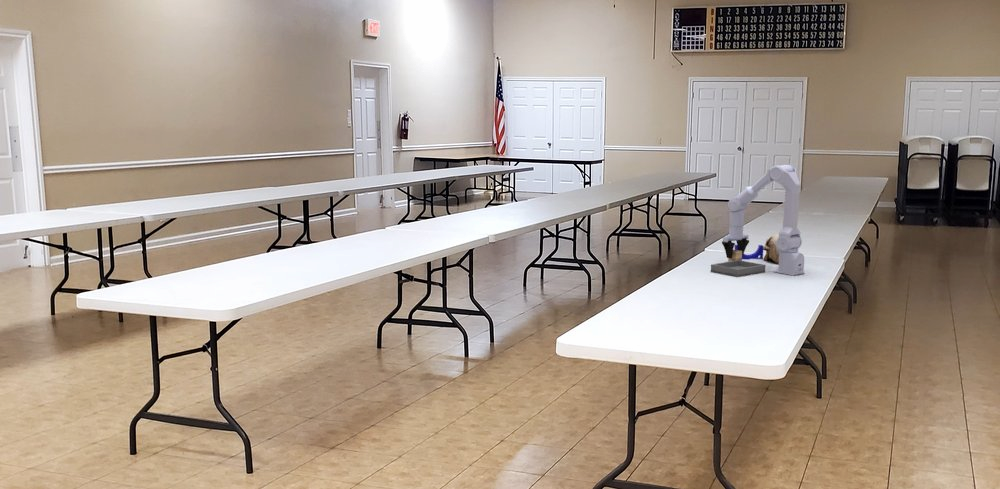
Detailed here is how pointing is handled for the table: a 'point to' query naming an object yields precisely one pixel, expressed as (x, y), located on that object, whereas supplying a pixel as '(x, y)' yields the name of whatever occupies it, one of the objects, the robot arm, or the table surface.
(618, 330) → the table surface
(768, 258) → the coin bank
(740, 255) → the maple block
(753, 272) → the tray
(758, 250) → the cable clip
